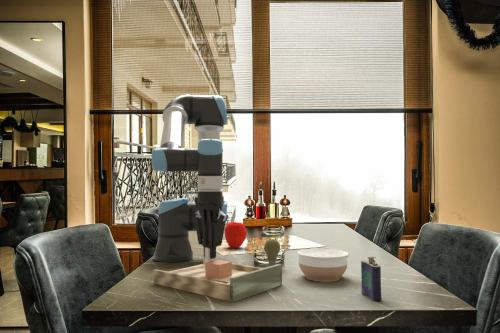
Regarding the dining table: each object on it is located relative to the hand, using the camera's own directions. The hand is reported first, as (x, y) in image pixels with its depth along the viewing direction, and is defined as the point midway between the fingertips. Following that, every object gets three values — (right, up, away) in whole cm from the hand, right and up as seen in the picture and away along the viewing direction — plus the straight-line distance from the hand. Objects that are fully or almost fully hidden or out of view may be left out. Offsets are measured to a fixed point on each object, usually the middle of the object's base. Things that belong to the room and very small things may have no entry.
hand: (209, 269), depth 129 cm
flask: (+44, -4, -16) cm, 47 cm away
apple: (+6, -6, +64) cm, 65 cm away
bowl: (+35, -5, +7) cm, 36 cm away
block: (+3, -2, -2) cm, 4 cm away
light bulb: (+20, -5, +21) cm, 30 cm away
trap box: (+2, -4, -1) cm, 5 cm away
